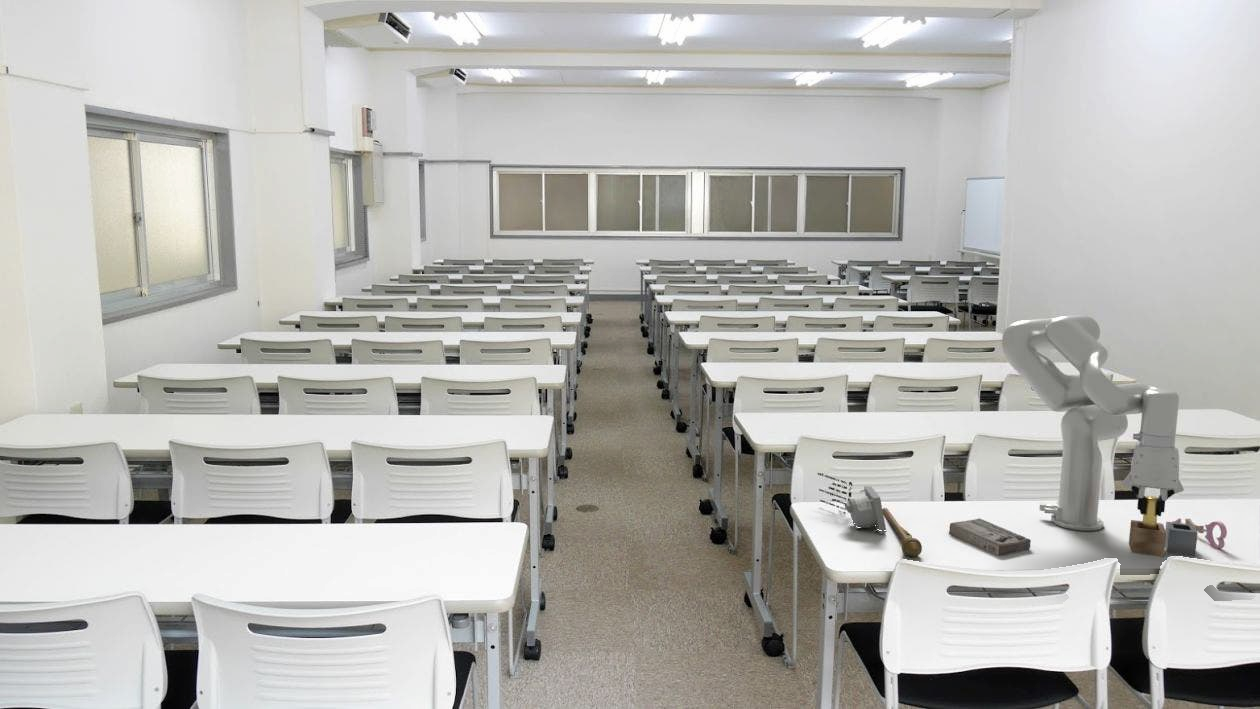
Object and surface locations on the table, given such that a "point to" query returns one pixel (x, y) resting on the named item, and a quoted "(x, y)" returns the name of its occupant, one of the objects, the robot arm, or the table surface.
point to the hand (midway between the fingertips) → (1150, 513)
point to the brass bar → (1150, 513)
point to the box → (989, 536)
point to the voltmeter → (862, 507)
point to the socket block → (1180, 538)
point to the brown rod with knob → (905, 537)
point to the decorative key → (1209, 532)
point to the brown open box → (1147, 539)
